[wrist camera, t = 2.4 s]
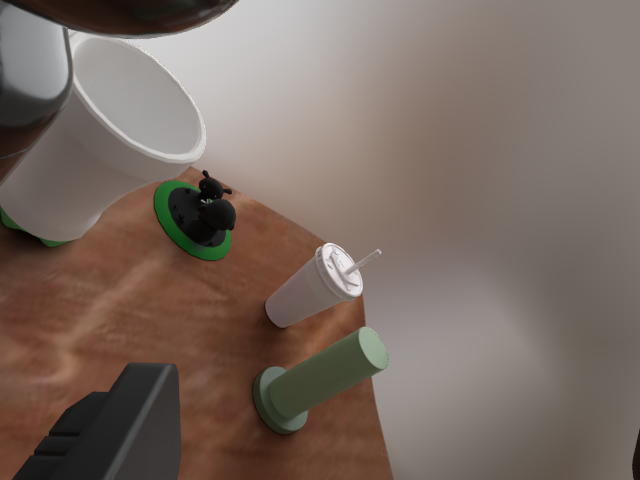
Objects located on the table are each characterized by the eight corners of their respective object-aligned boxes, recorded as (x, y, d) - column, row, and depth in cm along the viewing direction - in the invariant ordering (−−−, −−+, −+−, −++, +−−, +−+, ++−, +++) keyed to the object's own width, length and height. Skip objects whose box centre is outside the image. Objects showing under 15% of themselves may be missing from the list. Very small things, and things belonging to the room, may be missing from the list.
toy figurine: (231, 210, 65) (265, 182, 62) (230, 275, 58) (268, 247, 55) (159, 164, 59) (193, 131, 57) (148, 231, 52) (186, 197, 50)
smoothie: (288, 350, 59) (392, 287, 52) (247, 306, 57) (349, 236, 51) (304, 317, 64) (399, 256, 58) (267, 277, 63) (361, 210, 57)
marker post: (263, 437, 49) (366, 382, 44) (245, 369, 52) (340, 310, 47) (308, 432, 54) (406, 383, 49) (290, 370, 57) (380, 317, 52)
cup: (-22, 269, 38) (91, 144, 31) (-55, 138, 41) (41, 2, 35) (119, 269, 47) (228, 173, 40) (83, 163, 50) (178, 59, 44)
